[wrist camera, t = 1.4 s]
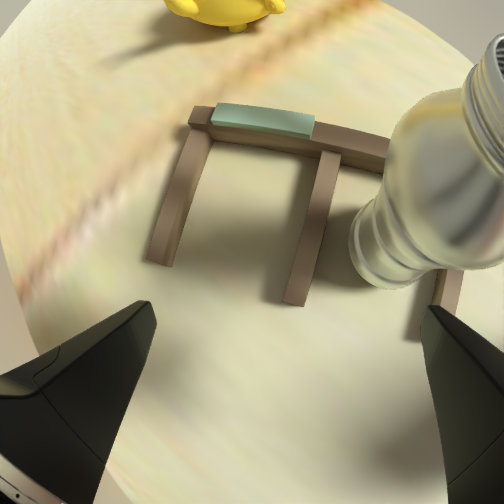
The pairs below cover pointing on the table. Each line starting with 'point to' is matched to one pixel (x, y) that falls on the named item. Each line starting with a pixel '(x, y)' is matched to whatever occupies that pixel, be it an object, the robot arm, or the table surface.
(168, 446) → the table surface
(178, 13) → the teapot
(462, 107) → the plastic bottle
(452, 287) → the comb rack
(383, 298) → the table surface
